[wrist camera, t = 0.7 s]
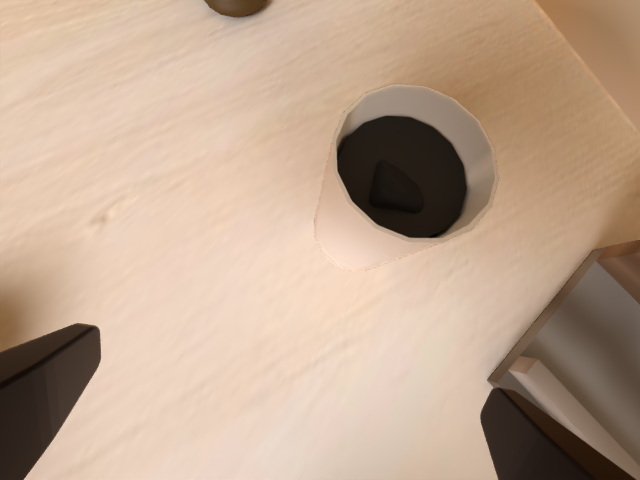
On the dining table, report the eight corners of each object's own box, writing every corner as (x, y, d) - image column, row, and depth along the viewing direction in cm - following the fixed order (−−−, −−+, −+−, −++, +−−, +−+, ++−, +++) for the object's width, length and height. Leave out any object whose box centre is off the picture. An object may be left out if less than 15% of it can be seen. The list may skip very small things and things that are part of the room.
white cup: (397, 286, 21) (496, 260, 12) (298, 267, 21) (316, 223, 11) (407, 194, 23) (501, 104, 13) (316, 174, 23) (345, 66, 13)
